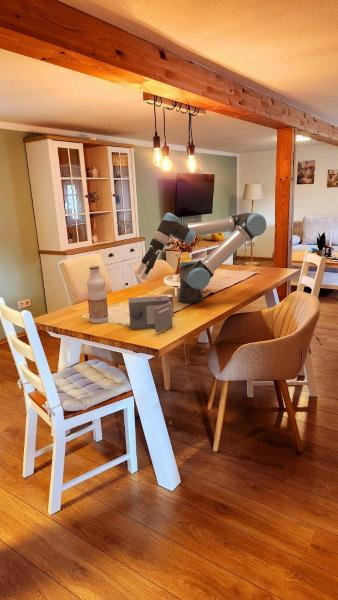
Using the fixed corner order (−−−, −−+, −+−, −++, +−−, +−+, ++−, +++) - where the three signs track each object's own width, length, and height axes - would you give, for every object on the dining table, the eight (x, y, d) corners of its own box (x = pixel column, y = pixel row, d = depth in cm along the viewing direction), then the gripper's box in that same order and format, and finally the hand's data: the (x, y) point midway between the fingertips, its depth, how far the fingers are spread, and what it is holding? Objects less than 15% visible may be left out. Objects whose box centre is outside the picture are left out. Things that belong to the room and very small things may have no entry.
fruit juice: (97, 324, 196) (92, 268, 189) (86, 321, 203) (80, 267, 196) (112, 320, 203) (107, 265, 196) (100, 317, 209) (96, 264, 202)
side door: (170, 325, 189) (169, 301, 186) (173, 325, 188) (172, 301, 185) (155, 333, 179) (154, 307, 176) (158, 333, 178) (156, 308, 175)
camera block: (168, 320, 198) (167, 293, 194) (171, 327, 188) (169, 299, 184) (130, 323, 196) (128, 296, 192) (130, 330, 186) (128, 301, 182)
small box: (158, 317, 204) (157, 297, 201) (156, 314, 209) (155, 295, 207) (173, 316, 205) (173, 296, 203) (171, 313, 211) (170, 293, 208)
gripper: (148, 235, 220) (130, 269, 222) (158, 240, 196) (137, 278, 199) (160, 241, 222) (142, 275, 225) (170, 247, 199) (150, 284, 201)
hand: (140, 276), depth 212 cm, fingers open, 13 cm apart
